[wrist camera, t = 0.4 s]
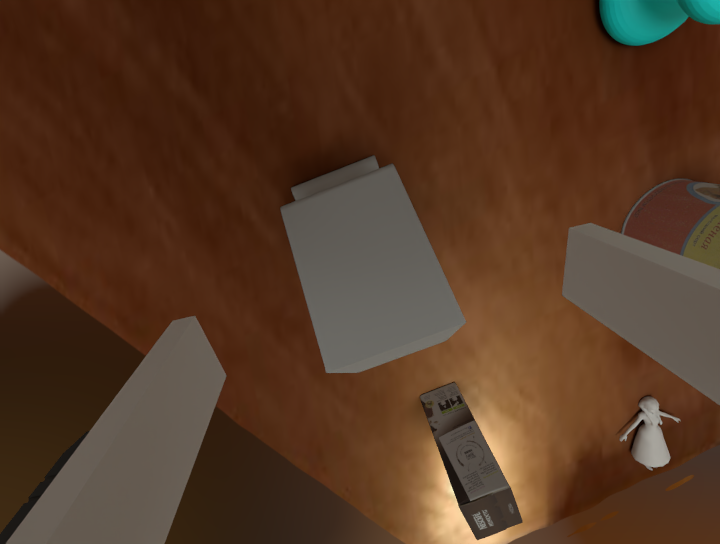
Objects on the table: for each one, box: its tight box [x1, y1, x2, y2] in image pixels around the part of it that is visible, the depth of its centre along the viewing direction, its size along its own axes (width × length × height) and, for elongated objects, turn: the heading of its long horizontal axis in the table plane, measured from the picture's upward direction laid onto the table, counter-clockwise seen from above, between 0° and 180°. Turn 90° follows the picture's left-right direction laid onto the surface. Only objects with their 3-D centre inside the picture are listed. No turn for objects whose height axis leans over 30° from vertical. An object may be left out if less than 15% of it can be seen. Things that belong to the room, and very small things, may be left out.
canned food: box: [621, 179, 720, 269], centre depth 36 cm, size 11×11×12 cm
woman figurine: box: [619, 396, 681, 470], centre depth 59 cm, size 12×4×18 cm
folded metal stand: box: [280, 155, 466, 373], centre depth 29 cm, size 18×10×20 cm, turn 20°
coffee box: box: [420, 383, 522, 540], centre depth 44 cm, size 9×6×16 cm
